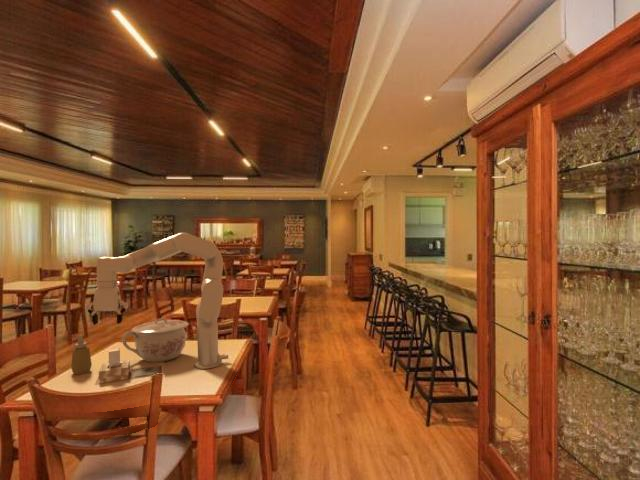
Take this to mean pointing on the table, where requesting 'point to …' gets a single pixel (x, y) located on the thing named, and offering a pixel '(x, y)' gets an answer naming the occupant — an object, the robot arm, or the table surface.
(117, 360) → the steel peg
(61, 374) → the table surface
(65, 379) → the table surface
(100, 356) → the table surface
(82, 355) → the squeeze bottle
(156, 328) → the chamber pot
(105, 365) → the socket board
